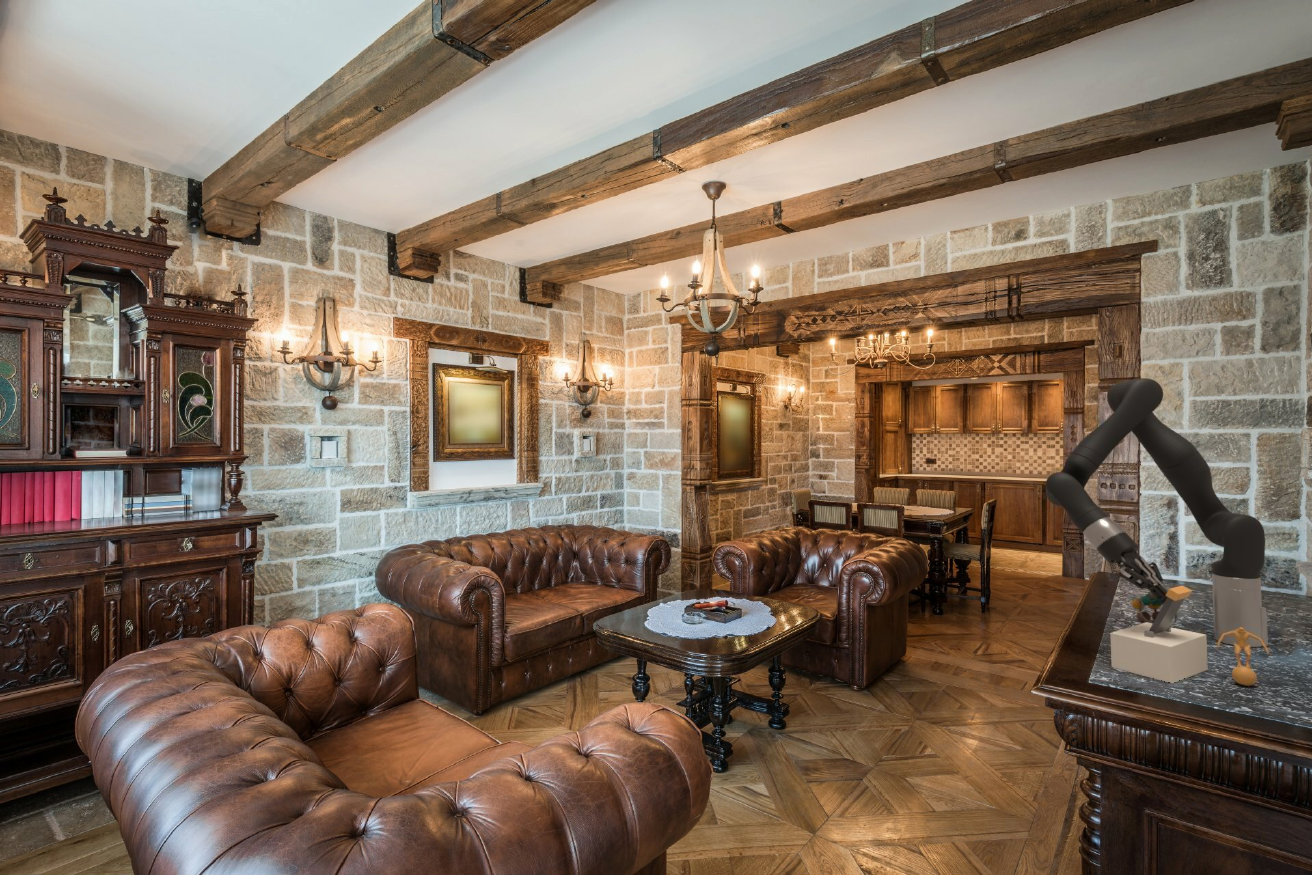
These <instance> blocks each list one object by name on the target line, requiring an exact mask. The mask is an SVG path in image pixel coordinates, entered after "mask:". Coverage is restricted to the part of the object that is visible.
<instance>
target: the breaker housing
mask: <svg viewBox="0 0 1312 875" xmlns="http://www.w3.org/2000/svg"><path fill="white" fill-rule="evenodd" d="M1152 624H1153V623H1152V622H1150V623H1147V622H1145V623H1142V622H1141V623H1139V624H1136V625H1132V626H1129V627H1126V628H1125V627H1124V628H1122V629H1120V630H1116V631H1113V632H1110V655H1111V656H1110V658H1111V659H1110V660H1111V662H1110V663H1111V668H1114V669H1117V670H1121V671H1125V672H1128V673H1132V674H1135V675H1138V676H1143V677H1147V678H1151V679H1153V678H1154V679H1153V680H1157V681H1161V680H1162V681H1161V682H1164V681H1165V682H1166V683H1168V682H1170V683H1169V684H1175V683H1174V682H1176V683H1178V682H1180V681H1182V680H1185V679H1188V678H1190V677H1192V676H1195V675H1197V674H1200V673H1203V672H1205V671H1208V668H1209V667H1208V645H1207V644H1208V643H1207V641H1208V640H1207V634H1205V633H1204V634H1203V633H1200V632H1194V631H1191V630H1186V629H1180V628H1175V627H1171V626H1169V627H1168V629H1167V631H1164V632H1161V633H1157V634H1154V632H1152V631H1149V630H1150V628H1151V626H1152ZM1184 678H1185V679H1184ZM1179 680H1180V681H1179Z"/></svg>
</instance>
